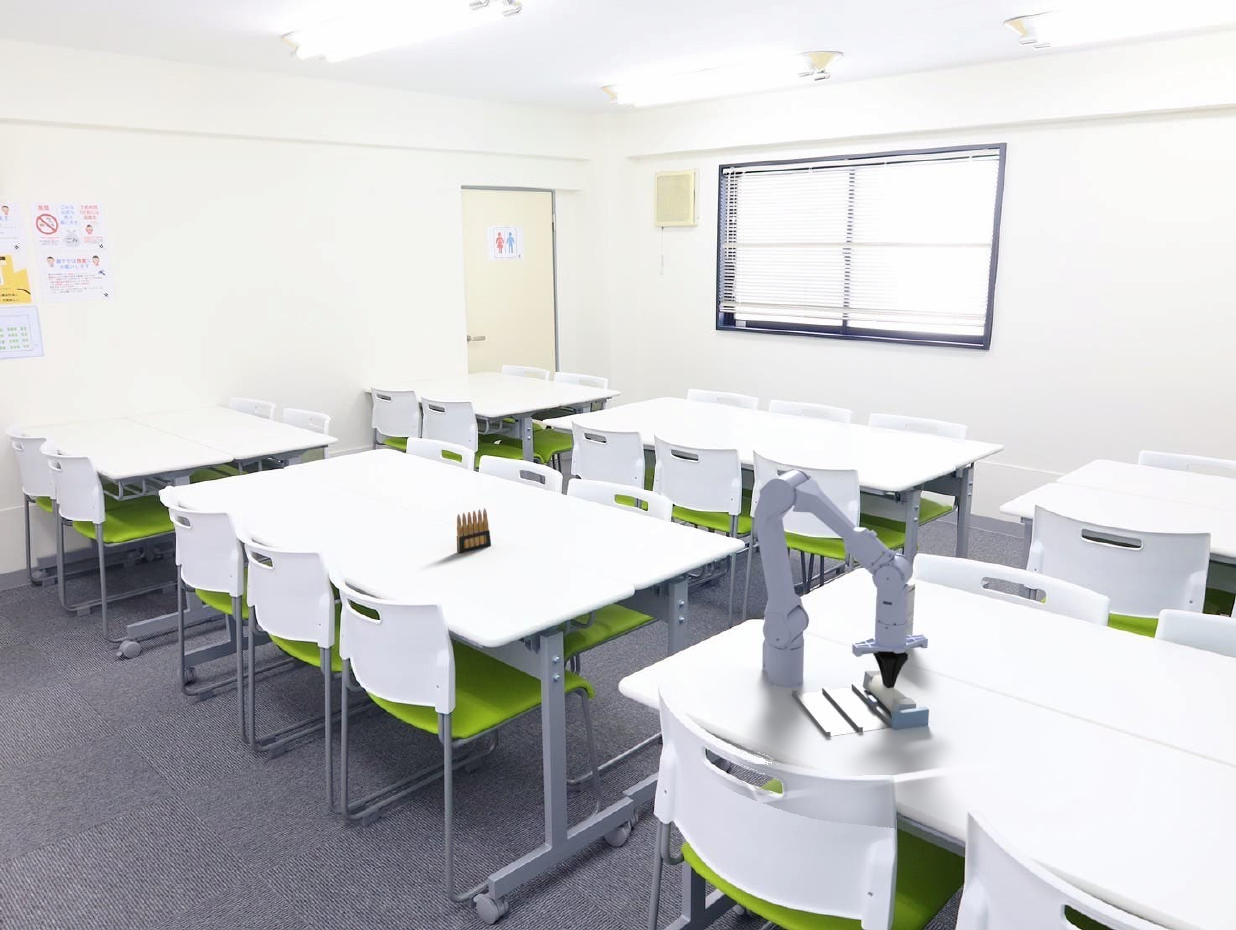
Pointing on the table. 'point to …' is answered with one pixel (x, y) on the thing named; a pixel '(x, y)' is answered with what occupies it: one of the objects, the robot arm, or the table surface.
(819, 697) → the lane divider tray
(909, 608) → the syrup box
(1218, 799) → the table surface
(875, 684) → the white rounded long block
